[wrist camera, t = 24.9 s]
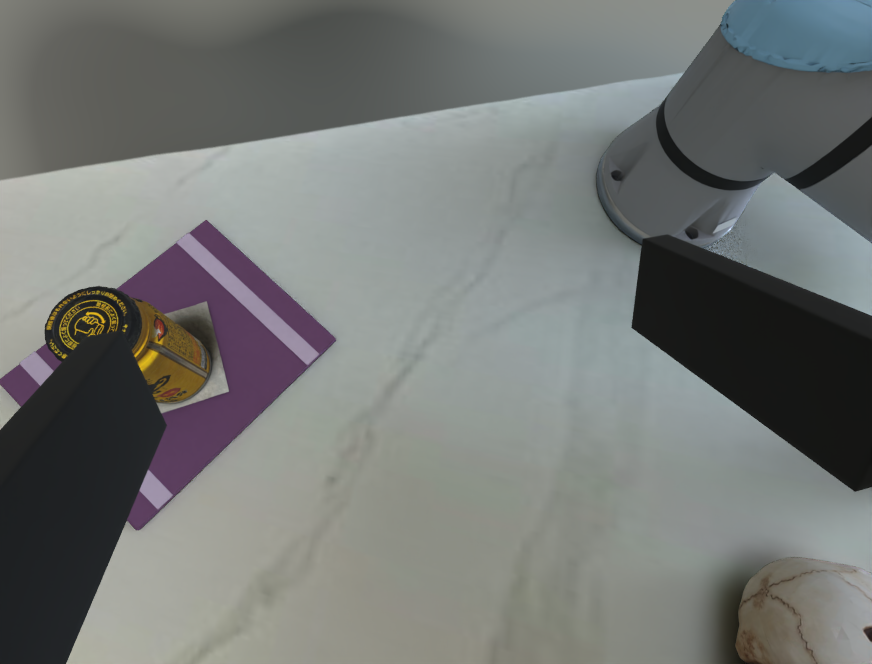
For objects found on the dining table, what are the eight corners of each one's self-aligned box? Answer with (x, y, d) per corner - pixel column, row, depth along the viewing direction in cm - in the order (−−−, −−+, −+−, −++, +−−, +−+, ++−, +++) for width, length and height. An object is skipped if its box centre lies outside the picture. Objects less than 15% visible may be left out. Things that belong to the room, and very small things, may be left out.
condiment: (138, 421, 38) (31, 395, 26) (120, 326, 40) (14, 265, 29) (230, 392, 39) (166, 355, 28) (208, 302, 41) (141, 234, 30)
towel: (208, 222, 44) (205, 218, 44) (336, 340, 42) (335, 338, 41) (2, 382, 38) (-5, 381, 38) (140, 529, 36) (135, 530, 35)
